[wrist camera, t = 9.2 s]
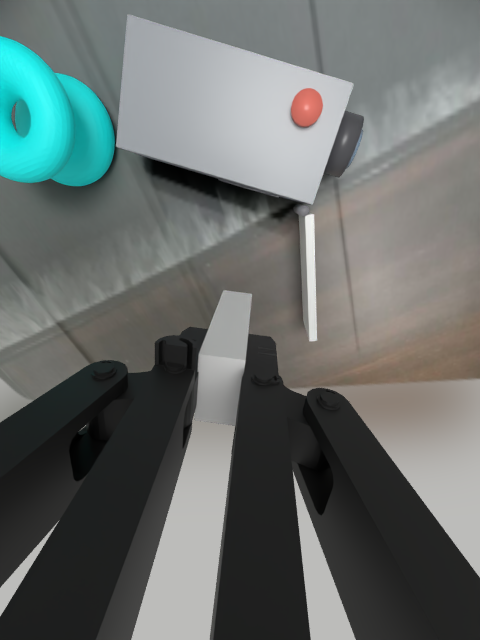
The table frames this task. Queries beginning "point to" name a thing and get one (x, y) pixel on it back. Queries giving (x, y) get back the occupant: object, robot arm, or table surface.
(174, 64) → the grey boxy piece
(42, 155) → the donuts
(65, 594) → the robot arm
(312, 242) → the side door
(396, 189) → the table surface
